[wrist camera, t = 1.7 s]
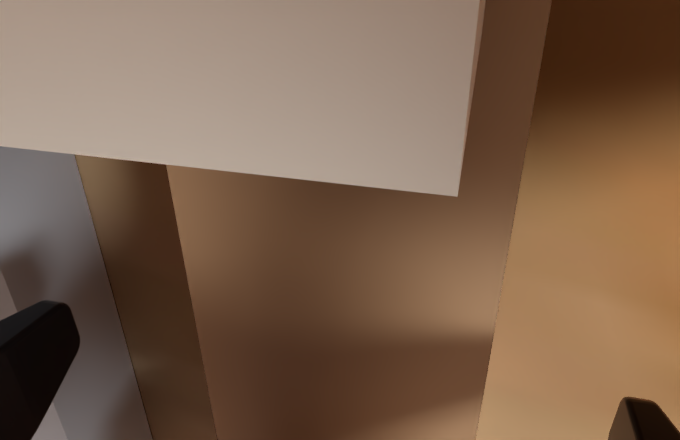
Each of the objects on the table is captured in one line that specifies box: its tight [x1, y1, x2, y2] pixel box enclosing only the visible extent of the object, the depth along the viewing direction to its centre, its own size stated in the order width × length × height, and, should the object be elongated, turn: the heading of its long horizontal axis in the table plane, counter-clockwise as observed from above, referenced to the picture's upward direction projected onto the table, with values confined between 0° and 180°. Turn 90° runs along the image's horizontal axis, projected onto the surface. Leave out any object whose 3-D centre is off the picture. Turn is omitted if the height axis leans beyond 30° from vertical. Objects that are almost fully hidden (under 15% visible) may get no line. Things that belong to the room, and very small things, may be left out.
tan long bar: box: [166, 0, 552, 440], centre depth 12 cm, size 6×23×4 cm, turn 0°
